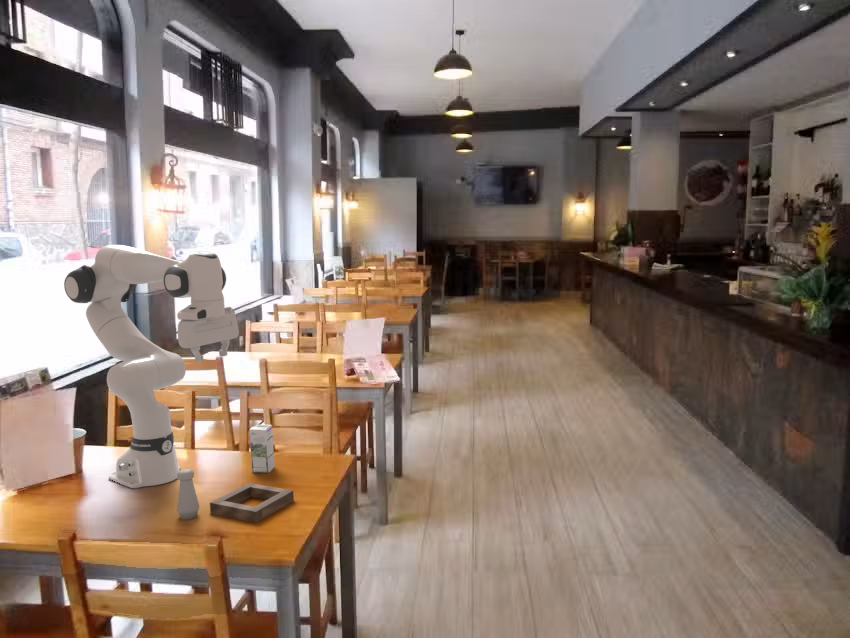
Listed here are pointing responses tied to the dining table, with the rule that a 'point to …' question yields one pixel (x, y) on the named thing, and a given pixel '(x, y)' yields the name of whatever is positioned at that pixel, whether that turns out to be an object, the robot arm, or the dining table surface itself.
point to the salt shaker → (187, 495)
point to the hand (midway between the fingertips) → (211, 358)
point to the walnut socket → (232, 509)
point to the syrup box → (262, 448)
